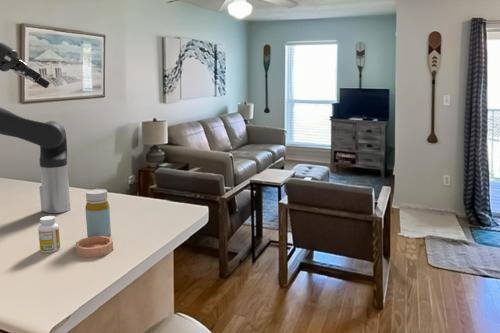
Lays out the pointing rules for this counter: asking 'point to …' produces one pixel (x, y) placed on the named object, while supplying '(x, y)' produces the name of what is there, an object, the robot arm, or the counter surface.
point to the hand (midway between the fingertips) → (43, 82)
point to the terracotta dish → (94, 246)
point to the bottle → (97, 213)
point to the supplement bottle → (49, 234)
